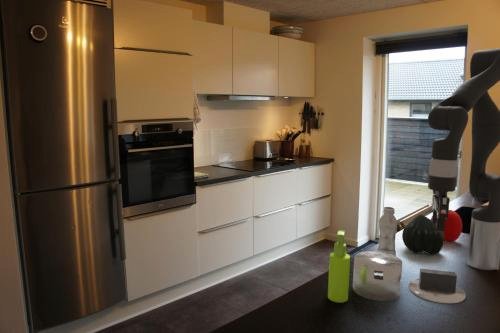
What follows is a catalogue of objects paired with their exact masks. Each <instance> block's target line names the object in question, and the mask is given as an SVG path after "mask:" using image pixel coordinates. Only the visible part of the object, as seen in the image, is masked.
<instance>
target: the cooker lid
mask: <svg viewBox="0 0 500 333" xmlns="http://www.w3.org/2000/svg"><path fill="white" fill-rule="evenodd" d="M418 275H419V276H418V278H414V279H412V280H410V282H409V283H408V290H409V291H410V292H411V293H412V294H413V295H415V296H417V297H419V298H421V299H423V300H426V301H429V302H434V303H439V304H457V303H462V302H464V301H465V300H466V295H467V294H466V292H465V290H464V289H463V288H461V287H460V286H458V285H457V278H458V276H457V274H456V272H455V271H446V270H438V269H430V268H422V267H421V268H419V274H418Z"/></svg>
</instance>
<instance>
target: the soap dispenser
mask: <svg viewBox="0 0 500 333" xmlns="http://www.w3.org/2000/svg"><path fill="white" fill-rule="evenodd" d="M346 232H347V230H341V229H339V230H338V231H337V234H336V236H337V242H334V245H333V246H334V247H333V248H334V250H333V251H332V252H331V253H330V254H329V263H328V280H327V281H328V284H327V287H328V288H327V298H328V300H330V301H332V302H334V303H344V302H347V301H348V300H349V290H350V289H349V286H350V268H351V255H350V254H349V253H348V254H347V244H346V242H344V241H345V240H344V239H345V234H346Z"/></svg>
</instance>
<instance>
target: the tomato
mask: <svg viewBox="0 0 500 333" xmlns="http://www.w3.org/2000/svg"><path fill="white" fill-rule="evenodd" d="M441 214H444V212H441ZM432 217H433V215H432V216H431V218H430V220H432ZM436 224H437V223H436ZM462 231H463V221H462V218H461V217H460V215H459V214H458V213H457V212H456V211H454V210H452V209H449V212H448V218H447V219H446V222H445V231H443V234H444V243H454V242H455V241H457V240H458V239H459V238H460V237H461V234H462Z"/></svg>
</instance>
